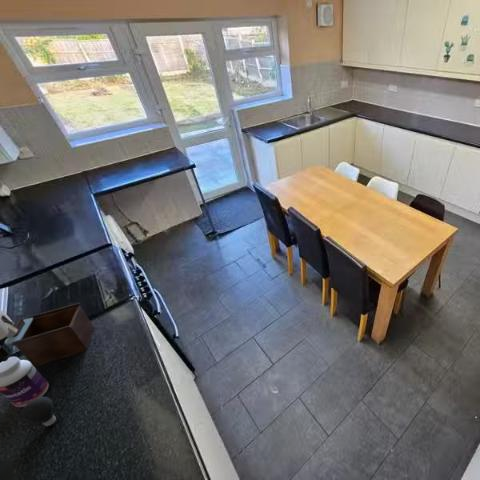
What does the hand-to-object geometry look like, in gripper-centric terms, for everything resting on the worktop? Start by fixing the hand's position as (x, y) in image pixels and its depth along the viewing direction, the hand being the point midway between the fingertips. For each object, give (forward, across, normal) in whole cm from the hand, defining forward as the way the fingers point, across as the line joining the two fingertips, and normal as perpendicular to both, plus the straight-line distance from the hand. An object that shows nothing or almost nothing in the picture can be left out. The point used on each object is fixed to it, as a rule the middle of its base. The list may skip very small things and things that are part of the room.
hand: (5, 357), depth 68 cm
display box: (+22, -2, +26) cm, 34 cm away
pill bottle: (+22, -7, +8) cm, 25 cm away
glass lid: (+10, -15, +26) cm, 32 cm away
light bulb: (+22, +1, -6) cm, 23 cm away
